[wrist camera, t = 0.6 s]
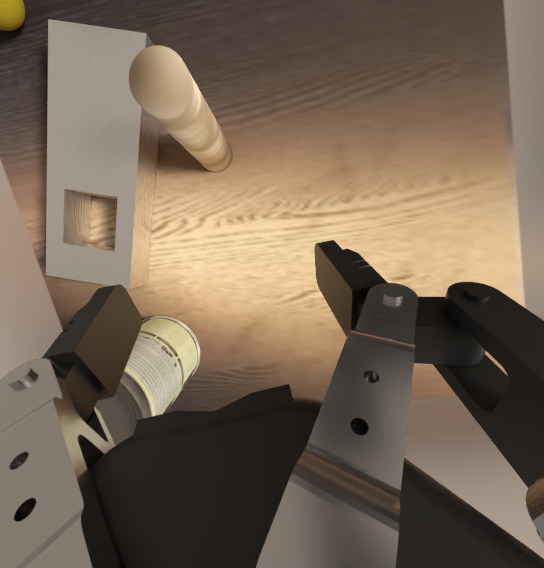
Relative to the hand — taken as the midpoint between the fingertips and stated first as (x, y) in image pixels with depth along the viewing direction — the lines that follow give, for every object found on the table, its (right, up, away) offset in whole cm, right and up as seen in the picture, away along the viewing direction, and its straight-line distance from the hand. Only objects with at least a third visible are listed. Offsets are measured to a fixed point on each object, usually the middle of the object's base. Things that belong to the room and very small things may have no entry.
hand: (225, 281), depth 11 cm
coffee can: (-13, -9, +24) cm, 29 cm away
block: (-17, +13, +21) cm, 30 cm away
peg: (-5, +15, +20) cm, 25 cm away
